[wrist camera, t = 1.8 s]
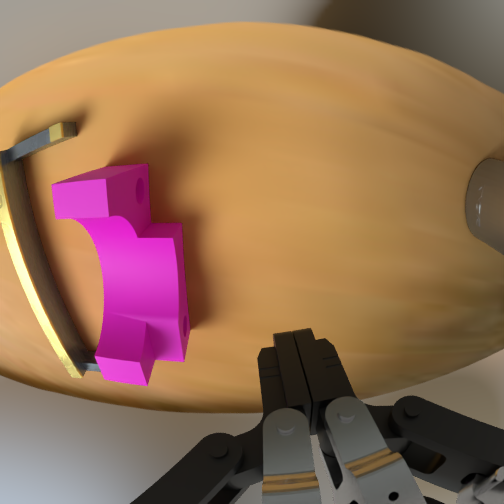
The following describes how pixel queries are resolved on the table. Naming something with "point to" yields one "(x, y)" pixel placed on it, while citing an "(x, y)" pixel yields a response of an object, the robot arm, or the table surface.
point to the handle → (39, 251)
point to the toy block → (131, 270)
